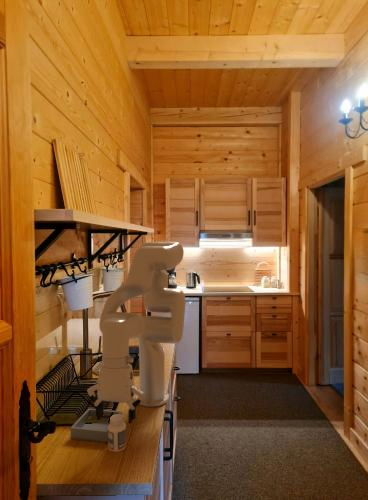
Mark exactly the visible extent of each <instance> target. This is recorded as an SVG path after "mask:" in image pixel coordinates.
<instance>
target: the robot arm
mask: <svg viewBox="0 0 368 500" xmlns="http://www.w3.org/2000/svg"><path fill="white" fill-rule="evenodd" d="M183 259H184V247H183V245H182V244H181V243H180V242H178V241H147V242H146V241H145V242H144V243H142V244H141V245H140V247H138V248H137V249H136V250H135V251H134V254H133V257H132V260H131V264H130V268H129V270H128V273H127V277H126V281H124V283H123V284H121V285H119V286H118V287H117V288H116V289H115V290H114V291H113V292H112V293H111V294H110V295H109V297H107V299H106V300H105V303H104V305H103V307H102V310H101V311H102V312H101V314H100V318H99V325H98V326H99V327H98V328H99V330H100V332H101V335H102V336H101V337H102V340H101V341H102V343H101V344H102V345H101V346H102V354H101V355H102V356H101V357H102V360H101V362H102V364H101V365H100V368H99V372H98V378H97V383H96V384H95V385H93V386H90V387H89V388H87V394H88V396H89V400H90V401H91V402H92V403H93V405H94V407H95V409H96V416H97V420H100V419H101V418H102V416H103V410H104V402H112V403H122V404H123V403H124V404H127V405H126V406H128V407H129V409H128V411H127V412H128V415H127V416H128V421H127V422H128V424H132V423H133V422H134V420H135V419H136V416H137V415H136V413H137V408H136V407H138V406H139V405H140V406H143V407H145V408H146V407H149V408H151V407H152V408H154V407H160V406H162V405H165V404H167V402H168V401H170V394H169V393H168V391H166V368H165V367H166V364H165V363H166V362H165V361H166V360H165V359H166V358H165V356H166V354H165V350H164V348H163V346H162V344H170V345H171V344H173V345H174V344H179V343H180V342H181V341H182V340H183V334H184V325H185V316H186V314H185V313H186V296H185V293H184V291H183V290H181V289H180V288H168V287H169V275H168V271H170V270H173V269H174V268H175V267H177V266H178V265H179V264H181V262H182V261H183ZM143 295H144V298H143V307H144V310H145V311H147V312H149V313H154V314H169V315H170V316H158V315H146V316H143V315H142V314H140V313H136V312H135V313H134V312H123V311H121V312H120V311H118V310H119V308H120V307H121V306H122V305H123V304H125V303H126V302H128V301H130V300H132V299H135V298H137V297H141V296H143ZM133 339H137V342H138V353H139V355H138V356H139V358H138V359H139V360H138V361H139V362H138V363H139V366H138V367H139V388H138V387H136V385H135V377H134V371H133V365H132V364H133V363H134V358H133V357H131V356H130V352H129V351H130V342H129V341H130V340H133ZM95 391H97V393H96V392H95ZM134 396H135V398H134Z"/></svg>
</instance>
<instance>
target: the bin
mask: <svg viewBox="0 0 368 500" xmlns="http://www.w3.org/2000/svg"><path fill="white" fill-rule="evenodd" d="M112 412H113V415H115V414H121V415H123V411H121V410H120V411H119V410H112V409H111V410H109V409H103V415H106V416H110V415H111V413H112ZM89 416H92V417H93V416H94V417H97V416H96V408H89V407H88V408H87V410H85V412H84V413H83V414H82V415H81V416H80V417H79V418H78V419H77V420H76V421H75V422H74V423H73V424H72V426H71V427H70V440H75V441H84V442H93V443H102V444H108V426H109V424H110V422H109V423H108V419H109V418H104V419H102V420H101V421H100V422H98V423H92V424H85V421H86V420H87V419H88V417H89Z"/></svg>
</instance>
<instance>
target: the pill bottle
mask: <svg viewBox="0 0 368 500" xmlns="http://www.w3.org/2000/svg"><path fill="white" fill-rule="evenodd" d="M124 418H125V417H124V415H123V414H122V415H121V414H115V415H112V416H111V417H110V424H109V426H108V443H107V444H108V445H107V447H108V450H109V451H111V452H114V453H116V452H118V453H119V452H121V451H123V450H125V449H126V447H127V425H126V423H125V422H124V421H125V420H124Z"/></svg>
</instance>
